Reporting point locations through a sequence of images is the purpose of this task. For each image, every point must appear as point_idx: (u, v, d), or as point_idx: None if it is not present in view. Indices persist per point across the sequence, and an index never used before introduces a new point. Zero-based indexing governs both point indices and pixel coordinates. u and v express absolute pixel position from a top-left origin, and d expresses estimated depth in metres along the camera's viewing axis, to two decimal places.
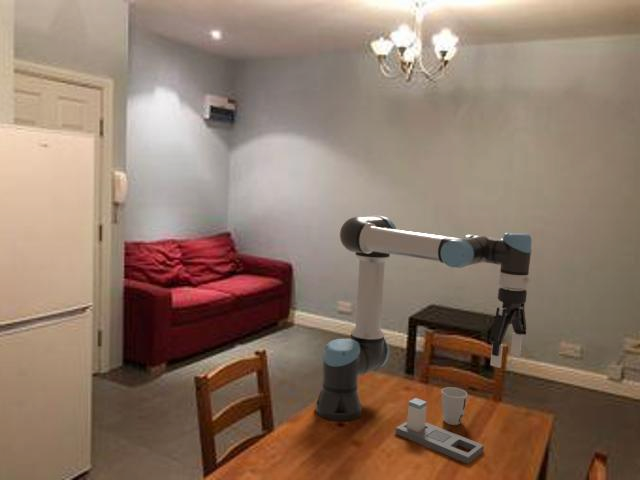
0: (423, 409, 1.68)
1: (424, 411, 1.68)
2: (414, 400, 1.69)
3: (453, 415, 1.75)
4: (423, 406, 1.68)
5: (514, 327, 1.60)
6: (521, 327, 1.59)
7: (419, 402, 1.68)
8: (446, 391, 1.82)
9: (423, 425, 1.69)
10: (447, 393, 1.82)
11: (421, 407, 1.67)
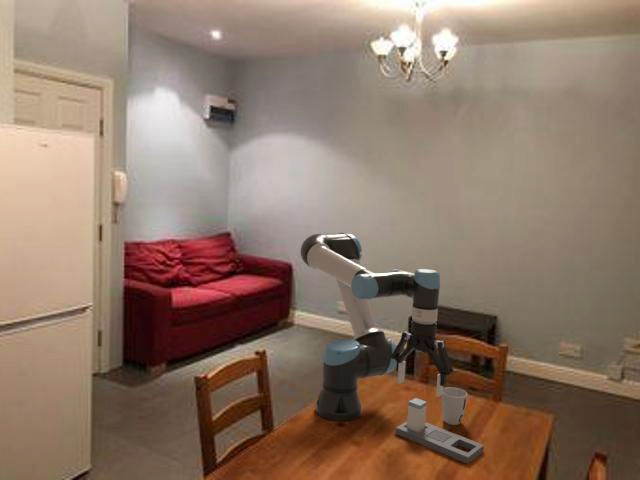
0: (423, 409, 1.68)
1: (424, 411, 1.68)
2: (414, 400, 1.69)
3: (453, 415, 1.75)
4: (423, 406, 1.68)
5: None
6: (437, 366, 1.62)
7: (419, 402, 1.68)
8: (446, 391, 1.82)
9: (423, 425, 1.69)
10: (447, 393, 1.82)
11: (421, 407, 1.67)
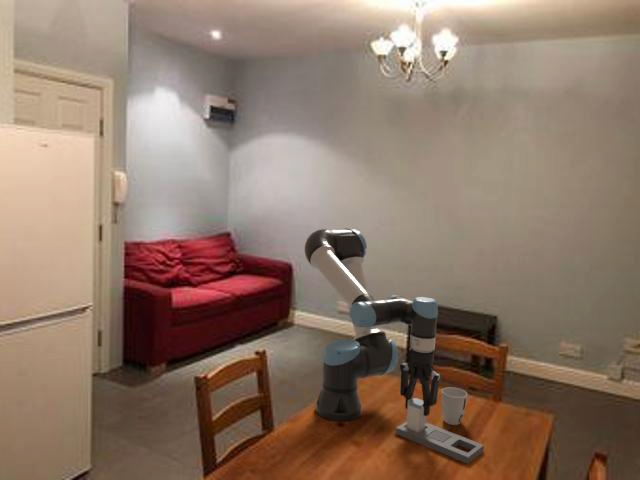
0: None
1: None
2: (414, 400, 1.69)
3: (453, 415, 1.75)
4: None
5: None
6: (424, 396, 1.66)
7: (419, 402, 1.68)
8: (446, 391, 1.82)
9: (423, 425, 1.69)
10: (447, 393, 1.82)
11: None
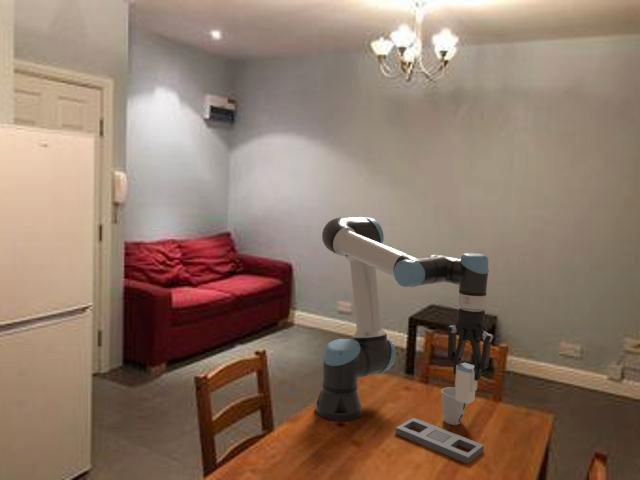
0: None
1: None
2: (463, 364, 1.57)
3: (453, 415, 1.75)
4: None
5: None
6: (475, 359, 1.54)
7: (468, 366, 1.56)
8: (446, 391, 1.82)
9: None
10: (447, 393, 1.82)
11: (471, 371, 1.55)
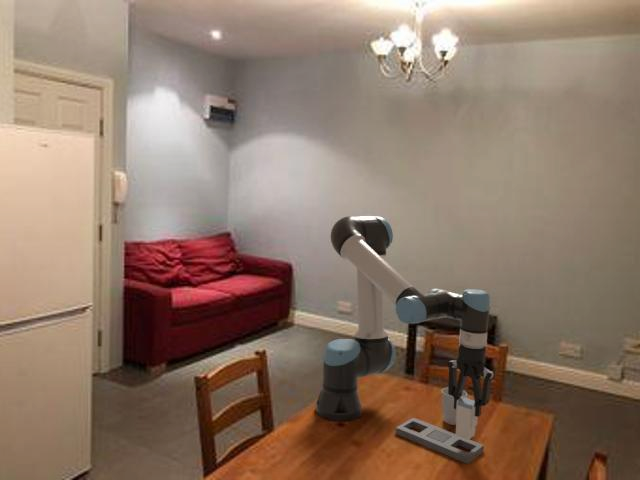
0: None
1: None
2: (464, 400, 1.58)
3: (453, 415, 1.75)
4: None
5: None
6: (475, 396, 1.54)
7: (469, 401, 1.57)
8: (446, 391, 1.82)
9: None
10: (447, 393, 1.82)
11: None
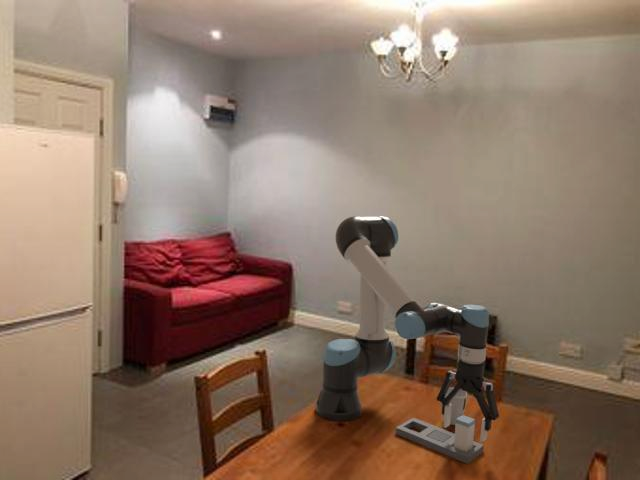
0: (471, 427, 1.57)
1: (472, 429, 1.58)
2: (461, 417, 1.59)
3: (453, 415, 1.75)
4: (472, 424, 1.57)
5: None
6: (483, 410, 1.53)
7: (467, 419, 1.58)
8: None
9: (471, 444, 1.59)
10: (447, 393, 1.82)
11: (470, 425, 1.56)
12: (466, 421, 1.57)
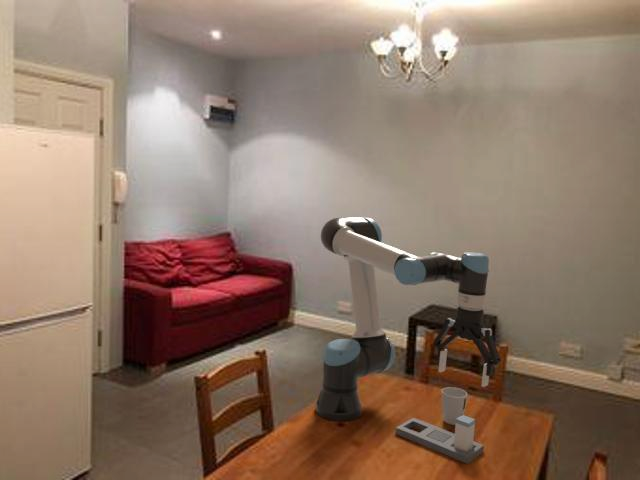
0: (472, 427, 1.57)
1: (472, 429, 1.58)
2: (461, 417, 1.59)
3: (453, 415, 1.75)
4: (472, 424, 1.57)
5: None
6: (484, 355, 1.53)
7: (467, 419, 1.58)
8: (446, 391, 1.82)
9: (471, 444, 1.59)
10: (447, 393, 1.82)
11: (470, 425, 1.56)
12: (466, 421, 1.57)
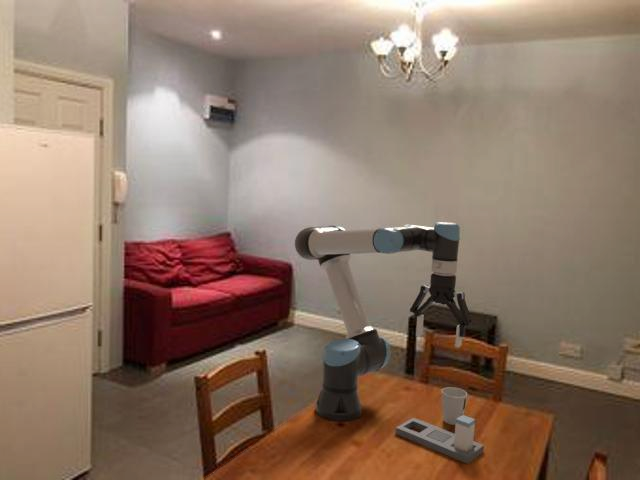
0: (471, 427, 1.57)
1: (472, 429, 1.58)
2: (461, 417, 1.59)
3: (453, 415, 1.75)
4: (472, 424, 1.57)
5: None
6: (457, 317, 1.63)
7: (467, 419, 1.58)
8: (446, 391, 1.82)
9: (471, 444, 1.59)
10: (447, 393, 1.82)
11: (470, 425, 1.56)
12: (466, 421, 1.57)
